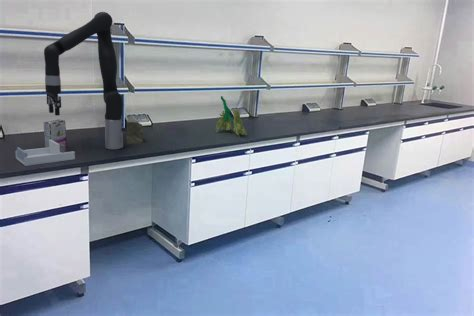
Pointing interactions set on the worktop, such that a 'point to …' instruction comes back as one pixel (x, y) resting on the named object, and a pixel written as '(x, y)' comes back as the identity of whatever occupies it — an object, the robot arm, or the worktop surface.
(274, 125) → the worktop surface
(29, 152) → the grey shallow tray
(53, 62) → the robot arm
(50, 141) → the pusher
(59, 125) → the candy bar box
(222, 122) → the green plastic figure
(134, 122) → the stone block
